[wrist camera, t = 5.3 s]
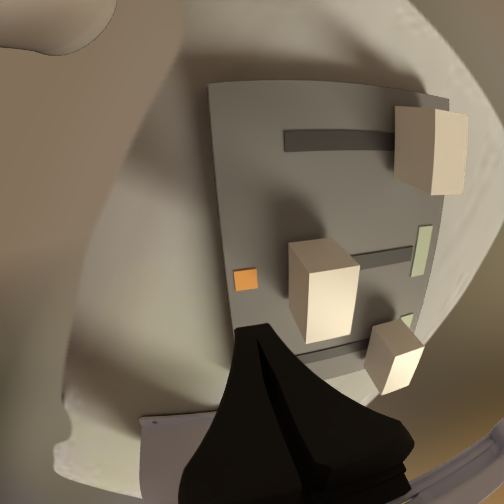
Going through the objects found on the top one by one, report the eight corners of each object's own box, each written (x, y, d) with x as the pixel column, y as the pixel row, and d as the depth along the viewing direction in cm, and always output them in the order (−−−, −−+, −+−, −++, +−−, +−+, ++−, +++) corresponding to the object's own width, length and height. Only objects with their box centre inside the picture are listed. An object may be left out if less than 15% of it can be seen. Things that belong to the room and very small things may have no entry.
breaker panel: (238, 377, 22) (242, 397, 20) (206, 87, 14) (208, 83, 12) (395, 341, 24) (406, 356, 22) (428, 97, 15) (450, 99, 14)
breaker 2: (393, 178, 15) (430, 195, 12) (394, 105, 13) (435, 109, 10) (424, 178, 15) (462, 194, 12) (427, 110, 13) (467, 115, 11)
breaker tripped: (288, 307, 17) (305, 344, 14) (288, 242, 15) (309, 273, 13) (327, 300, 17) (349, 334, 15) (332, 237, 16) (360, 265, 13)
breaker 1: (363, 365, 21) (381, 395, 18) (372, 326, 19) (395, 356, 16) (389, 357, 21) (408, 385, 18) (400, 318, 20) (424, 346, 17)
